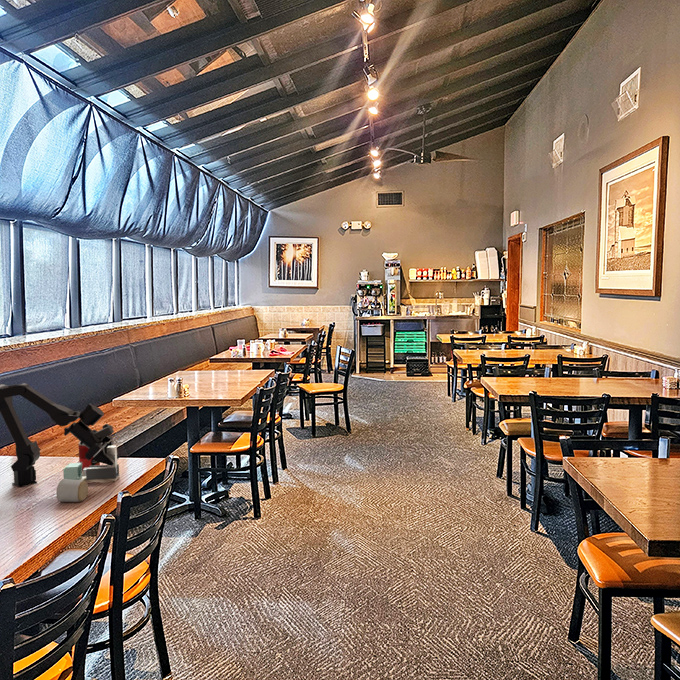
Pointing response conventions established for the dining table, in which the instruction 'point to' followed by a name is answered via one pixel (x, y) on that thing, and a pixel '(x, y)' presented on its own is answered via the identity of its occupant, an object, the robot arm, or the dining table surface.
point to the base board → (97, 480)
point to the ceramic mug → (71, 490)
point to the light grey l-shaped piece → (111, 454)
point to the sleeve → (101, 473)
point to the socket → (73, 471)
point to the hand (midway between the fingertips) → (115, 461)
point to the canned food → (83, 460)
